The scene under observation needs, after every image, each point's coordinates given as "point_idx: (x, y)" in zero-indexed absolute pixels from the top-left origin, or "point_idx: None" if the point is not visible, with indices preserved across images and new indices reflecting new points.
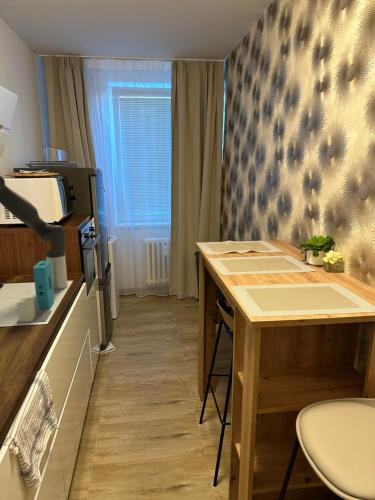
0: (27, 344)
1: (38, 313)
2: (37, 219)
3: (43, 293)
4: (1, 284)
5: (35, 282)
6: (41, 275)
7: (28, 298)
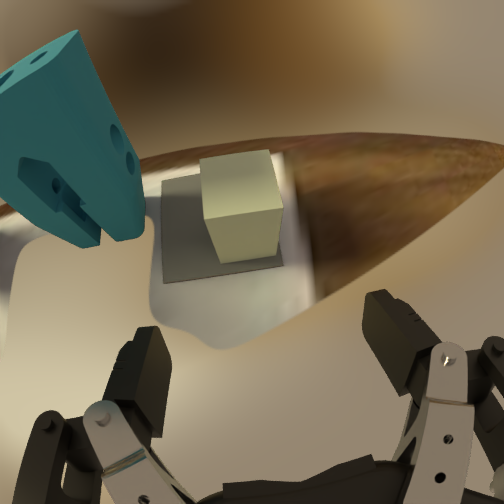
0: (411, 167)
1: (187, 216)
2: None
3: (132, 153)
4: (153, 339)
5: (98, 135)
6: (92, 75)
7: (211, 177)
